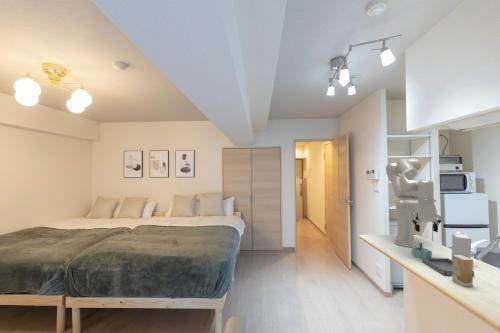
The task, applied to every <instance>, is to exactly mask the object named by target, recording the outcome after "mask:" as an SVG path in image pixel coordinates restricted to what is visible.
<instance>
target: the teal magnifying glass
mask: <svg viewBox="0 0 500 333" xmlns="http://www.w3.org/2000/svg"><path fill="white" fill-rule="evenodd" d="M410 248H411V249H410V250H411V256H413V257H415V258H420V259H422V258H433V253H432V252H433V251H432V250H430V249H428V248H425V247H423V249H421V251H420V250H419V246H416V247H410Z"/></svg>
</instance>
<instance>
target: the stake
mask: <svg viewBox="0 0 500 333" xmlns="http://www.w3.org/2000/svg"><path fill="white" fill-rule="evenodd" d="M418 245H419V246H418V247H419V250H420V251H421V249H423V248H424V247H423V242H419V244H418Z"/></svg>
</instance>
